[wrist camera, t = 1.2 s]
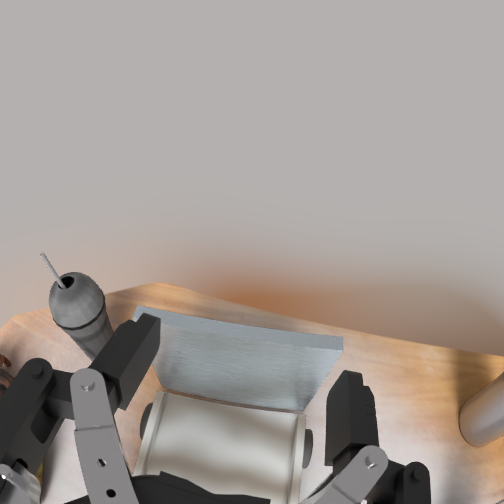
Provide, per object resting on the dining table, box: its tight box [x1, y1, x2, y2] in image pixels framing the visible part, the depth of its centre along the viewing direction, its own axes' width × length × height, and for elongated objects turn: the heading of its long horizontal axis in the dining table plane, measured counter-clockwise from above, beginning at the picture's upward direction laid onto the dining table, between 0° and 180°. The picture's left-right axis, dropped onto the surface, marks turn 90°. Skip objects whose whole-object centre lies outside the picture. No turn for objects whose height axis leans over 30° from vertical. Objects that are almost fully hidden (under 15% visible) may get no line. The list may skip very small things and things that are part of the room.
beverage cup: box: [40, 252, 114, 361], centre depth 32 cm, size 7×7×20 cm
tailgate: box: [133, 305, 343, 411], centre depth 26 cm, size 2×16×14 cm, turn 82°
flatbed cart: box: [132, 391, 313, 504], centre depth 24 cm, size 18×19×7 cm
